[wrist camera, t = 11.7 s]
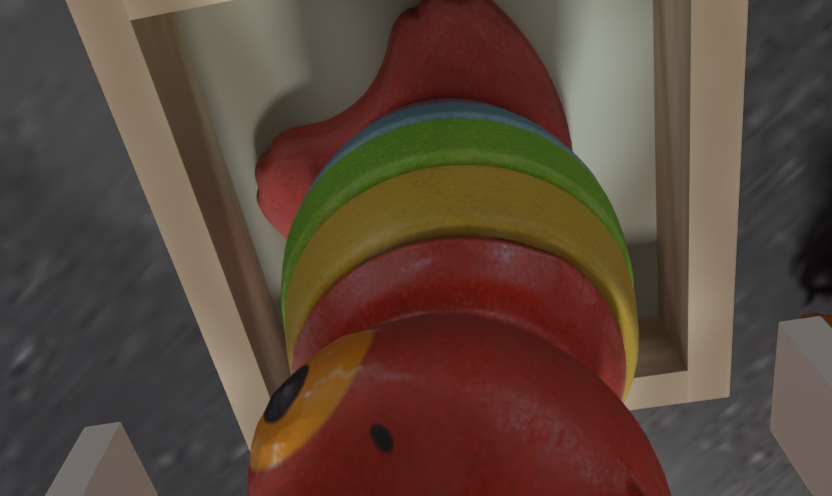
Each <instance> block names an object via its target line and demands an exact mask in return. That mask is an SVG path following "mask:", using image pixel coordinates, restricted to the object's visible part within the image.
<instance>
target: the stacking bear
mask: <svg viewBox="0 0 832 496" xmlns="http://www.w3.org/2000/svg"><path fill="white" fill-rule="evenodd" d="M255 179H256V182H257V185H258V190H257V195H256V199H257V203H258V205H259V208H260V210H261V211H262V213H263V215H264V216H265V218H266V219H267V220H268V221H269V223H270V224H271V225H272V226H273V227H274V228H275V229H276V230H277V231H278V232H279V233H280V234H281V235H282V236H283V237H284V238H285V239H286V240H287V241H286V245H285V251H284V258H283V265H282V279H281V308H282V317H283V324H284V329H285V340H286V349H287V358H288V363H289V368H290V373H291V376H290V377H289V378H288V379H287V380H286V381H285V382H284V383H283V384H282V385H281V386H280V387H279V388H278V389H277V390H276V391H275V392H274V394H273V395H272V396H271V398H270V400H269V403H268V405H267V407H266V409H265V411H264V413H263V414H262V416H261V418H260V420H259V422H258V423H257V426H256V430H255V433H254V437H253V440H252V444H251V452H250V460H249V471H248V496H671V493H670V490H669V487H668V484H667V480H666V477H665V475H664V472H663V470H662V467H661V465H660V463H659V461H658V459H657V456H656V454H655V452H654V450H653V448H652V446H651V444H650V442H649V440H648V438H647V436H646V435H645V433H644V432H643V430H642V428H641V427H640V425H639V424H638V422H637V421H636V419H635V418H634V416H633V415H632V414H631V412H630V411H629V410H628V408H627V407H626V406H625V404H624V402H625V400H626V398H627V396H628V393H629V391H630V388H631V386H632V382H633V378H634V374H635V370H636V366H637V360H638V350H639V327H638V317H637V307H636V299H635V293H634V281H633V271H632V265H631V260H630V256H629V252H628V248H627V244H626V241H625V237H624V234H623V231H622V228H621V226H620V223H619V220H618V218H617V215H616V213H615V211H614V209H613V206H612V204H611V202H610V200H609V199H608V197H607V195H606V193H605V192H604V190H603V189H602V187H601V186H600V184H599V182H598V181H597V179H596V178H595V176H594V174H593V173H592V172H591V171H590V169H589V168H588V167H587V166H586V165H585V164H584V162H583V161H582V160H581V159H580V158H579V157H578V156H577V155H576V154H575V153H574V152H573V149H572V142H571V137H570V132H569V127H568V123H567V120H566V116H565V113H564V110H563V106H562V103H561V101H560V98H559V96H558V93H557V90H556V88H555V86H554V83H553V81H552V79H551V77H550V75H549V73H548V71H547V69H546V67H545V66H544V64H543V62H542V61H541V59H540V57H539V56H538V54H537V53H536V51H535V49H534V48H533V46H532V44H531V43H530V42H529V40H528V39H527V38H526V37H525V35H524V34H523V33H522V32H521V30H520V29H519V28H518V26H517V25H516V24H515V23H514V22H513V21H512V20H511V19H510V17H509V16H508V15H507V14H506V13H505V12H504V11H503V10H502V9H501V8H500V7H499V6H498V5H497V4H496V3H494V2H493V1H492V0H421V2H420V4H419V5H418V6H417V7H413V8H409V9H407V10H405V11H403V12H402V13H401V14H400V15H399V16H398V18H397V19H396V21H395V22H394V24H393V27H392V30H391V32H390V37H389V41H388V45H387V50H386V53H385V56H384V59H383V63H382V65H381V67H380V69H379V71H378V73H377V75H376V77H375V79H374V81H373V82H372V84H371V85H370V87H369V89H368V90H367V91H366V92H365V93H364V94H363V96H362V97H361V98H359V99H358V100H357V101H356V102H355V103H354V104H353V105H352V106H350V107H349V108H348V109H346V110H345V111H343V112H342V113H340V114H338V115H336V116H334V117H332V118H330V119H328V120H325V121H322V122H318V123H314V124H308V125H303V126H298V127H293V128H291V129H289V130H286V131H284V132H282V133H280V134H279V135H278V136H276V137H275V138H274V139H273V141H272V143H271V148H270V150H269V151H268V152H266V153H264V154H262V155H261V156H260V158H259V159H258V161H257V164H256V167H255Z"/></svg>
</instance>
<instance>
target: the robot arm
mask: <svg viewBox="0 0 832 496" xmlns="http://www.w3.org/2000/svg"><path fill="white" fill-rule="evenodd" d="M770 431H771V432H772V434H773V435H774V437H775V438H776V440H777V441H778V443H779V445H780V446H781V448H782V449H783V451H784V452H785V454H786V455H787V457H788V458H789V460H790V461H791V463H792V465H793V466H794V468H795V469H796V471H797V472H798V474H799V475H800V477H801V478H802V480H803V482H804V483H805V485H806V486H807V488H808V489H809V491H810V492H811V494H812V495H813V496H832V328H831V327H830V326H829V325H828V324H827V323H826V321H825V320H824V319H823V318H822V317H821V316H816V317H810V318H803V319H796V320H790V321H783V322H779V325H778V337H777V350H776V362H775V374H774V386H773V398H772V410H771V422H770ZM45 496H158V494H157V492H156V491H155V489H154V487H153V485H152V483H151V481H150V479H149V477H148V475H147V473H146V471H145V469H144V467H143V465H142V463H141V461H140V459H139V457H138V455H137V453H136V452H135V450H134V448H133V446H132V444H131V442H130V440H129V438H128V436H127V434H126V432H125V430H124V428H123V426H122V424H121V422H117V423H110V424H103V425H97V426H90V427H85V428H84V430H83V431H82V433H81V435H80V436H79V438H78V440H77V442H76V443H75V445H74V447H73V449H72V450H71V452H70V454H69V455H68V457H67V459H66V461H65V462H64V464H63V466H62V467H61V469H60V471H59V473H58V474H57V476H56V478H55V480H54V481H53V483H52V485H51V486H50V488H49V490H48V492H47V493H46V495H45Z"/></svg>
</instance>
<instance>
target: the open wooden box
mask: <svg viewBox="0 0 832 496" xmlns="http://www.w3.org/2000/svg"><path fill="white" fill-rule="evenodd" d="M492 1H493V2H494V3H496V4H497V5H498V6H499V7H500V8H501V9H502V10H503V11H504V12H505V13H506V14H507V15H508V16H509V17H510V19H511V20H512V21H513V22H514V23H515V24H516V25H517V26H518V28H519V29H520V30H521V32H522V33H523V34H524V35H525V37H526V38H527V39H528V40H529V42H530V43H531V44H532V46H533V48H534V49H535V51H536V53H537V54H538V56H539V57H540V59H541V61H542V62H543V64H544V66H545V67H546V69H547V71H548V73H549V75H550V77H551V79H552V81H553V83H554V86H555V88H556V90H557V93H558V96H559V98H560V101H561V103H562V106H563V110H564V113H565V116H566V120H567V123H568V127H569V132H570V137H571V142H572V149H573V152H574V153H575V154H576V155H577V156H578V157H579V158H580V159H581V160H582V161H583V162H584V164H585V165H586V166H587V167H588V168H589V169H590V171H591V172H592V173H593V174H594V176H595V178H596V179H597V181H598V182H599V184H600V186H601V187H602V189H603V190H604V192H605V193H606V195H607V197H608V199H609V200H610V202H611V204H612V206H613V209H614V211H615V213H616V215H617V218H618V220H619V223H620V226H621V228H622V231H623V234H624V237H625V241H626V244H627V248H628V252H629V256H630V260H631V265H632V271H633V281H634V293H635V299H636V307H637V317H638V327H639V350H638V360H637V366H636V370H635V374H634V378H633V382H632V386H631V388H630V391H629V393H628V396H627V398H626V400H625V402H624V404H625V406H626V407H627V408H628V410H635V409H642V408H650V407H657V406H665V405H672V404H679V403H687V402H694V401H702V400H709V399H717V398H724V397H729V394H730V373H731V352H732V331H733V310H734V289H735V268H736V247H737V226H738V205H739V184H740V163H741V142H742V121H743V100H744V79H745V58H746V37H747V16H748V0H492ZM66 2H67V4H68V7H69V9H70V12H71V14H72V17H73V19H74V22H75V24H76V26H77V29H78V31H79V34H80V36H81V39H82V41H83V44H84V46H85V48H86V51H87V53H88V56H89V58H90V61H91V63H92V66H93V68H94V71H95V73H96V75H97V78H98V80H99V83H100V85H101V88H102V90H103V93H104V95H105V97H106V100H107V102H108V105H109V107H110V110H111V112H112V115H113V117H114V119H115V122H116V124H117V127H118V129H119V132H120V134H121V137H122V139H123V141H124V144H125V146H126V149H127V151H128V154H129V156H130V159H131V161H132V163H133V166H134V168H135V171H136V173H137V176H138V178H139V181H140V183H141V186H142V188H143V190H144V193H145V195H146V198H147V200H148V203H149V205H150V208H151V210H152V212H153V215H154V217H155V220H156V222H157V225H158V227H159V230H160V232H161V234H162V237H163V239H164V242H165V244H166V247H167V249H168V252H169V254H170V256H171V259H172V261H173V264H174V266H175V269H176V271H177V274H178V276H179V278H180V281H181V283H182V286H183V288H184V291H185V293H186V296H187V298H188V301H189V303H190V305H191V308H192V310H193V313H194V315H195V318H196V320H197V323H198V325H199V327H200V330H201V332H202V335H203V337H204V340H205V342H206V345H207V347H208V349H209V352H210V354H211V357H212V359H213V362H214V364H215V367H216V369H217V371H218V374H219V376H220V379H221V381H222V384H223V386H224V389H225V391H226V393H227V396H228V398H229V401H230V403H231V406H232V408H233V411H234V413H235V416H236V418H237V420H238V423H239V425H240V428H241V430H242V433H243V435H244V438H245V440H246V442H247V445H248V447H249V450H250V452H251V444H252V440H253V437H254V433H255V430H256V426H257V423H258V422H259V420H260V418H261V416H262V414H263V413H264V411H265V409H266V407H267V405H268V403H269V400H270V398H271V396H272V395H273V394H274V392H275V391H276V390H277V389H278V388H279V387H280V386H281V385H282V384H283V383H284V382H285V381H286V380H287V379H288V378H289V377H290V376H291V373H290V368H289V363H288V358H287V349H286V340H285V329H284V324H283V317H282V308H281V279H282V265H283V258H284V251H285V245H286V241H287V240H286V239H285V238H284V237H283V236H282V235H281V234H280V233H279V232H278V231H277V230H276V229H275V228H274V227H273V226H272V225H271V224H270V223H269V221H268V220H267V219H266V218H265V216H264V215H263V213H262V211H261V210H260V208H259V205H258V203H257V199H256V195H257V190H258V185H257V182H256V179H255V167H256V164H257V161H258V159H259V158H260V156H261V155H262V154H264V153H266V152H268V151H269V150H270V148H271V143H272V141H273V139H274V138H275V137H276V136H278V135H279V134H280V133H282V132H284V131H286V130H289V129H291V128H293V127H298V126H303V125H308V124H314V123H318V122H322V121H325V120H328V119H330V118H332V117H334V116H336V115H338V114H340V113H342V112H343V111H345V110H346V109H348V108H349V107H350V106H352V105H353V104H354V103H355V102H356V101H357V100H358V99H359V98H361V97H362V96H363V94H364V93H365V92H366V91H367V90H368V89H369V87H370V85H371V84H372V82H373V81H374V79H375V77H376V75H377V73H378V71H379V69H380V67H381V65H382V63H383V59H384V56H385V53H386V50H387V45H388V41H389V37H390V32H391V30H392V27H393V24H394V22H395V21H396V19H397V18H398V16H399V15H400V14H401V13H402V12H403V11H405V10H407V9H409V8H413V7H417V6H418V5H419V4H420V2H421V0H66Z"/></svg>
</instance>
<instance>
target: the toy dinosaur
mask: <svg viewBox="0 0 832 496" xmlns="http://www.w3.org/2000/svg"><path fill="white" fill-rule="evenodd" d="M816 316H821V317H822V318H823V319H824V320H825V321H826V323H827V324H828V325H829V326H830V327H831V328H832V315H822V314H816V313H814V314H804V315H802V316H801V317H800V319H803V318H810V317H816Z"/></svg>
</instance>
